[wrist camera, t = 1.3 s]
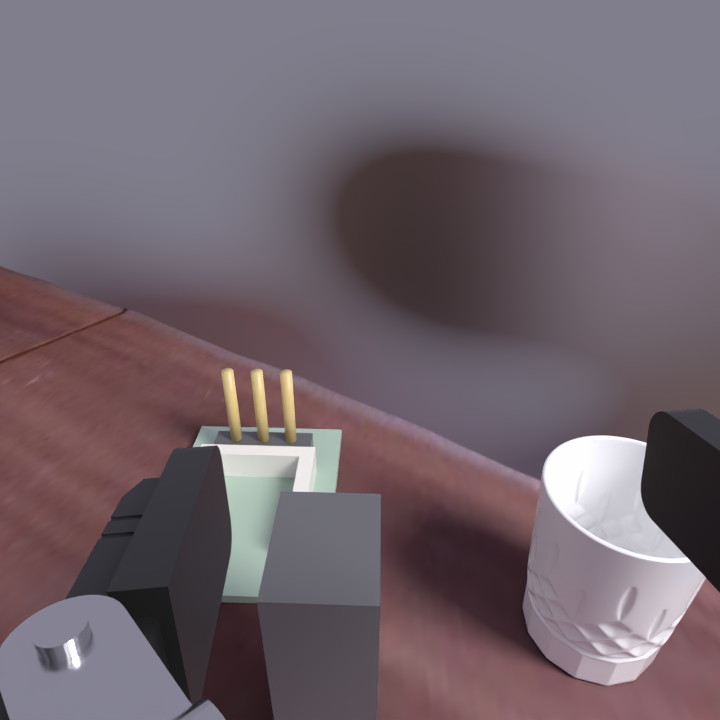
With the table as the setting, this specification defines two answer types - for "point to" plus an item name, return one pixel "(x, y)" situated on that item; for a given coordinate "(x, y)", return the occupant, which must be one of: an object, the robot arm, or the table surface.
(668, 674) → the table surface
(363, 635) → the block
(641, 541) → the white cup
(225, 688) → the table surface
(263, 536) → the header board
